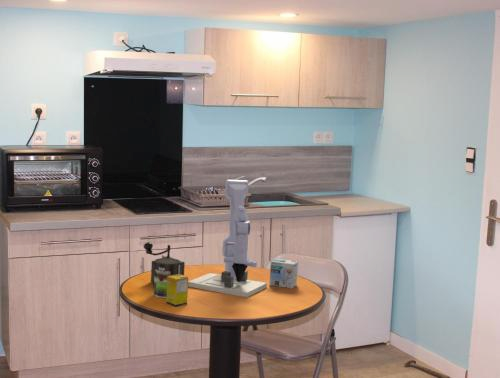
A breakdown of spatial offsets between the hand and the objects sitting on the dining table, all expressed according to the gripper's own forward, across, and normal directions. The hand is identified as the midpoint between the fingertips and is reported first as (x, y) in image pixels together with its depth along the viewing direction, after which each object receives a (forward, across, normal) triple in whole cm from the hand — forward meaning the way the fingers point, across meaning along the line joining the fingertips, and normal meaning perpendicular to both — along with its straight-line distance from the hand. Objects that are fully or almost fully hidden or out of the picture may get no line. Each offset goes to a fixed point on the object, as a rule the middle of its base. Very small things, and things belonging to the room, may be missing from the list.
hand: (239, 281), depth 302 cm
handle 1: (+1, -1, -6) cm, 7 cm away
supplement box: (+4, -9, -34) cm, 35 cm away
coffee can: (+4, -19, -26) cm, 33 cm away
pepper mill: (+4, -30, -12) cm, 33 cm away
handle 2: (+1, -1, +6) cm, 7 cm away
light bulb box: (+4, +13, +18) cm, 22 cm away
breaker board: (+3, -5, 0) cm, 6 cm away
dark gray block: (+1, -6, 0) cm, 6 cm away
